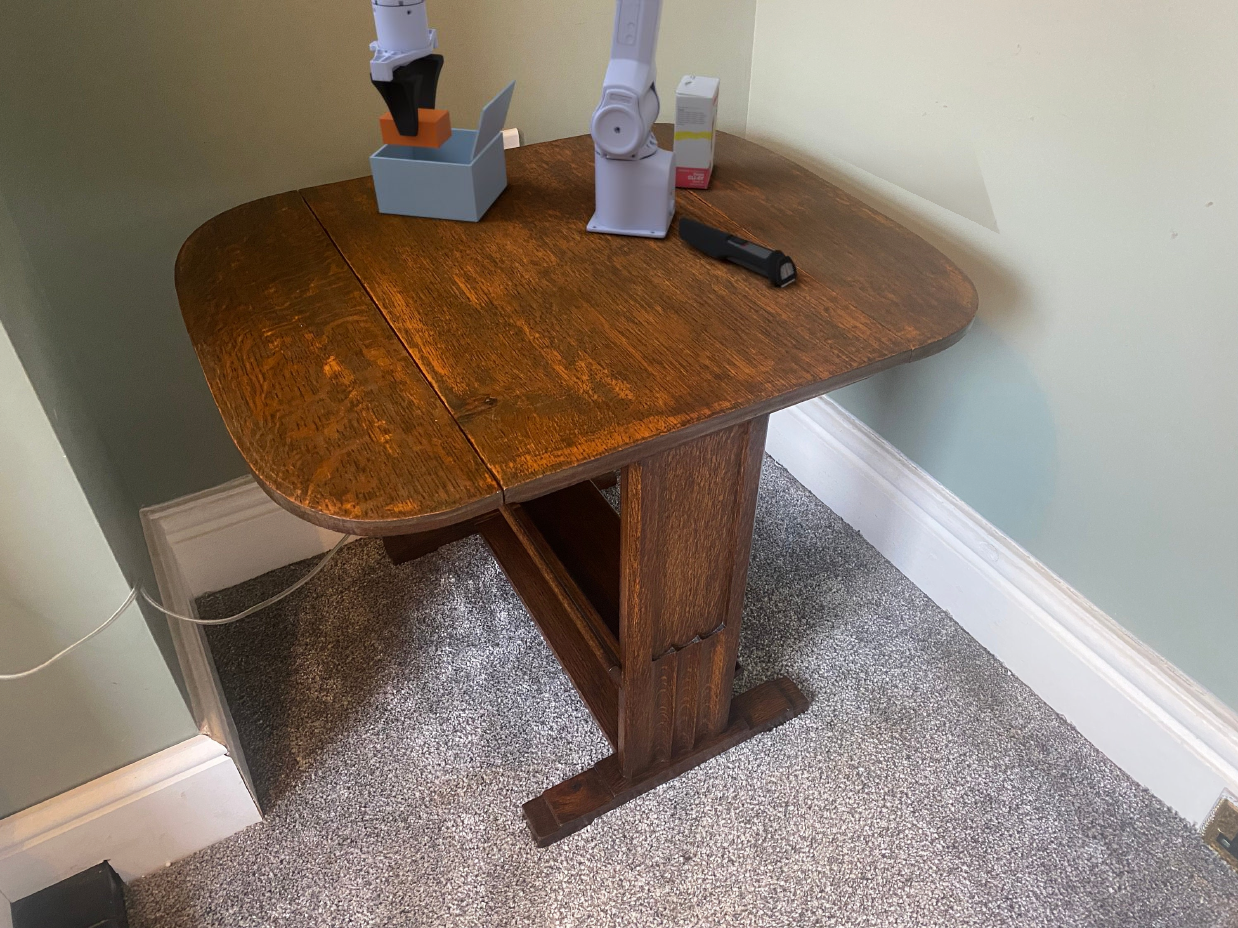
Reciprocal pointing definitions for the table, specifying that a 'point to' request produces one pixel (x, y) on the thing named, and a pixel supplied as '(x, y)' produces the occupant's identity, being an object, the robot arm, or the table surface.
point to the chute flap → (492, 119)
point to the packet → (419, 129)
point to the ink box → (695, 130)
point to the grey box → (440, 178)
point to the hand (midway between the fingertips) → (417, 128)
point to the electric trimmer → (739, 251)
